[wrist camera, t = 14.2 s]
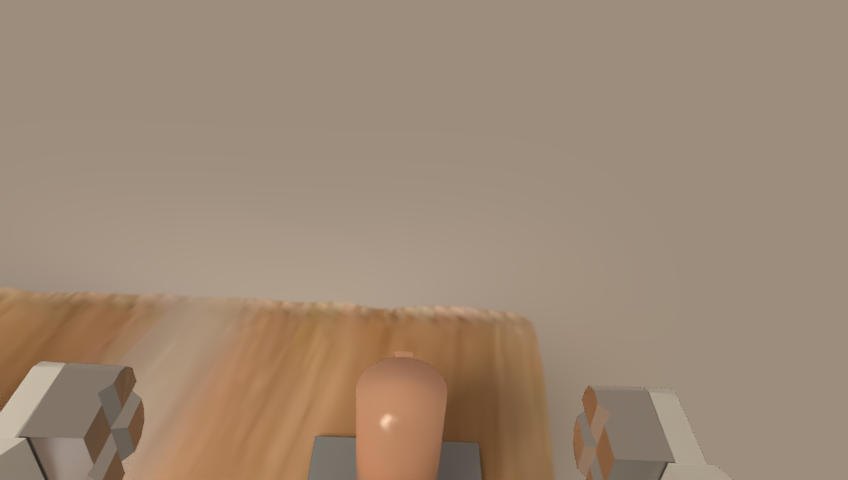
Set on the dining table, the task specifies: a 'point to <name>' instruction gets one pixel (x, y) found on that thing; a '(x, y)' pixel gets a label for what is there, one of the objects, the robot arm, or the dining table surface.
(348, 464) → the mat
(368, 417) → the tall peach cylinder
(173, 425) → the dining table surface
